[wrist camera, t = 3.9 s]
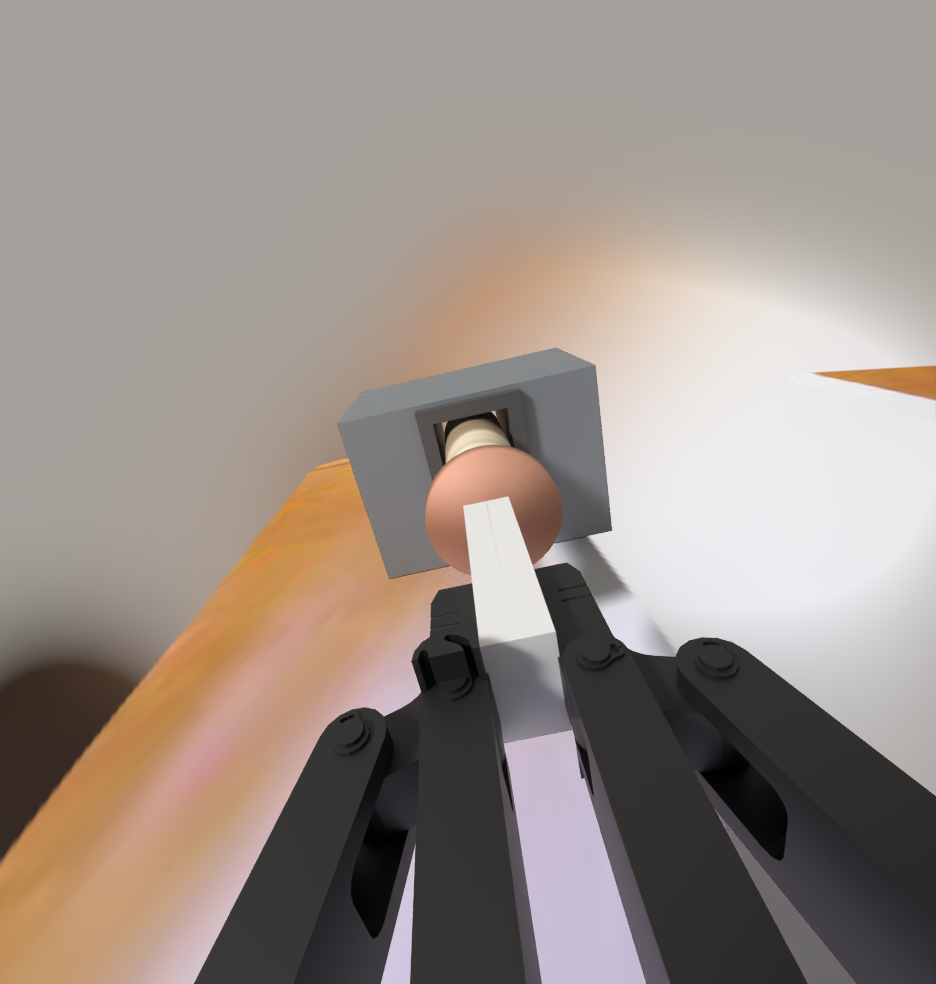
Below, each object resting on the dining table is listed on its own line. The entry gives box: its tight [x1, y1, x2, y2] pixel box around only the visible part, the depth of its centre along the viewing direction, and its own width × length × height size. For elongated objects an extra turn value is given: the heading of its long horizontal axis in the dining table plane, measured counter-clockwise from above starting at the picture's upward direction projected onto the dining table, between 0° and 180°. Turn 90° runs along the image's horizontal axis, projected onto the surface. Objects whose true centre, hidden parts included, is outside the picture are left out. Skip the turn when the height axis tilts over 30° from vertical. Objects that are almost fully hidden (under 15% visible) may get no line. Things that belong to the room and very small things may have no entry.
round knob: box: [425, 412, 563, 575], centre depth 26 cm, size 13×6×6 cm, turn 4°
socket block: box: [337, 348, 612, 579], centre depth 34 cm, size 11×16×12 cm, turn 94°
